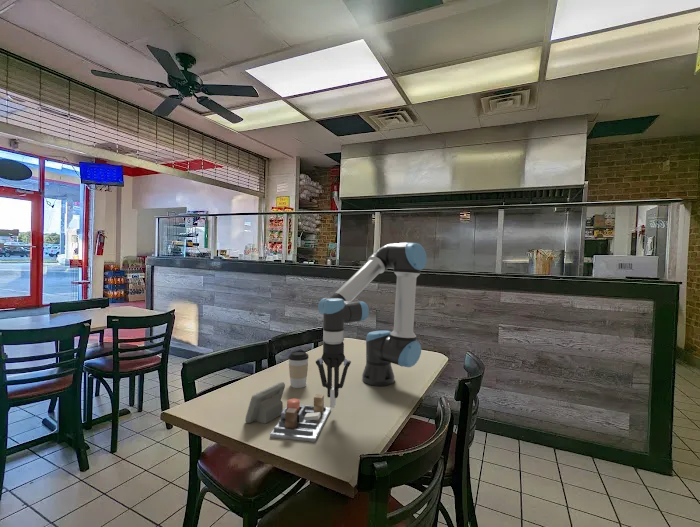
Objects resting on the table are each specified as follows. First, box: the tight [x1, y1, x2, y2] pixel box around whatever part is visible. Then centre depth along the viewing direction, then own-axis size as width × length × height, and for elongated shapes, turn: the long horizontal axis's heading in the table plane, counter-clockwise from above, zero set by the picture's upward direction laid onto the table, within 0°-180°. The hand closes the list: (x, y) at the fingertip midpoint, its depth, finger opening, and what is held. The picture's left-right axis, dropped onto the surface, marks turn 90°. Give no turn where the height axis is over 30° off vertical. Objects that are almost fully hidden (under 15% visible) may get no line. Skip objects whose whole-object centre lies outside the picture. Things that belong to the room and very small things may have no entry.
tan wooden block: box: [313, 393, 325, 412], centre depth 125 cm, size 3×3×6 cm
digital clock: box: [245, 381, 286, 424], centre depth 124 cm, size 16×9×11 cm, turn 138°
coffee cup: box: [287, 349, 309, 389], centre depth 154 cm, size 9×9×15 cm
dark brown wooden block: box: [285, 408, 297, 429], centre depth 113 cm, size 3×3×6 cm
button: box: [286, 398, 301, 412], centre depth 120 cm, size 4×4×3 cm
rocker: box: [304, 412, 321, 420], centre depth 119 cm, size 5×3×1 cm, turn 80°
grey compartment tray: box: [269, 404, 332, 443], centre depth 119 cm, size 15×22×4 cm
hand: (332, 405), depth 124 cm, fingers closed
